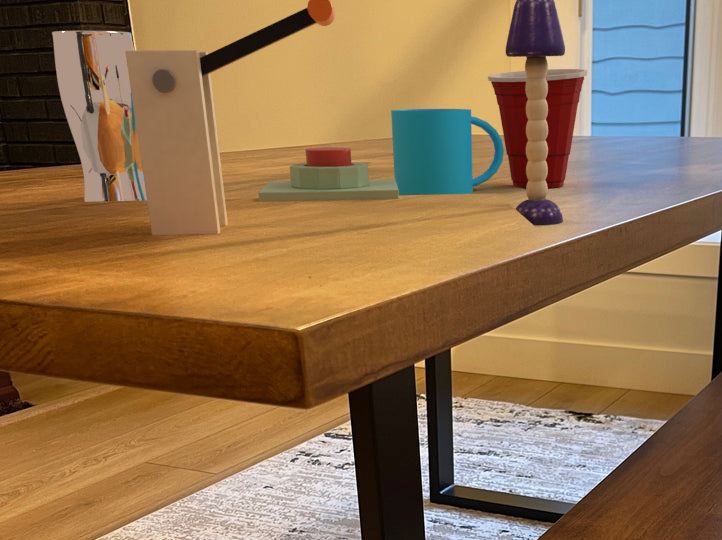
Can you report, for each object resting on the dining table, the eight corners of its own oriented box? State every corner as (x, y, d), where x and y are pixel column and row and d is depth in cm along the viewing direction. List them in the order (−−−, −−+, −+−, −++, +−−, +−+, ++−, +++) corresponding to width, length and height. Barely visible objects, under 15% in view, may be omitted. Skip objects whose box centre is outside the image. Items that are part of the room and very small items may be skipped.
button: (305, 171, 88) (304, 150, 88) (308, 167, 92) (306, 147, 91) (351, 170, 89) (350, 149, 88) (352, 167, 92) (350, 147, 92)
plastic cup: (469, 187, 111) (466, 69, 106) (526, 179, 119) (526, 69, 114) (549, 193, 105) (550, 68, 100) (604, 184, 113) (607, 68, 108)
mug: (408, 198, 100) (404, 111, 97) (386, 191, 107) (381, 109, 104) (518, 193, 105) (517, 109, 101) (490, 186, 111) (489, 107, 108)
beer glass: (165, 210, 93) (140, 31, 87) (86, 215, 90) (55, 29, 84) (149, 203, 98) (125, 34, 92) (74, 207, 95) (44, 33, 89)
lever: (341, 26, 69) (325, -10, 68) (339, 22, 64) (322, -17, 63) (170, 107, 69) (151, 72, 68) (154, 108, 64) (134, 71, 63)
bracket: (278, 238, 75) (260, 52, 70) (267, 258, 67) (245, 49, 62) (127, 242, 74) (98, 53, 69) (97, 262, 66) (61, 49, 61)
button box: (260, 218, 87) (255, 170, 85) (271, 205, 96) (266, 161, 94) (399, 215, 88) (397, 168, 86) (396, 203, 97) (394, 159, 95)
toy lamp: (564, 226, 81) (567, -5, 74) (507, 227, 81) (505, -5, 74) (561, 219, 85) (564, -1, 78) (506, 219, 85) (505, 0, 78)
